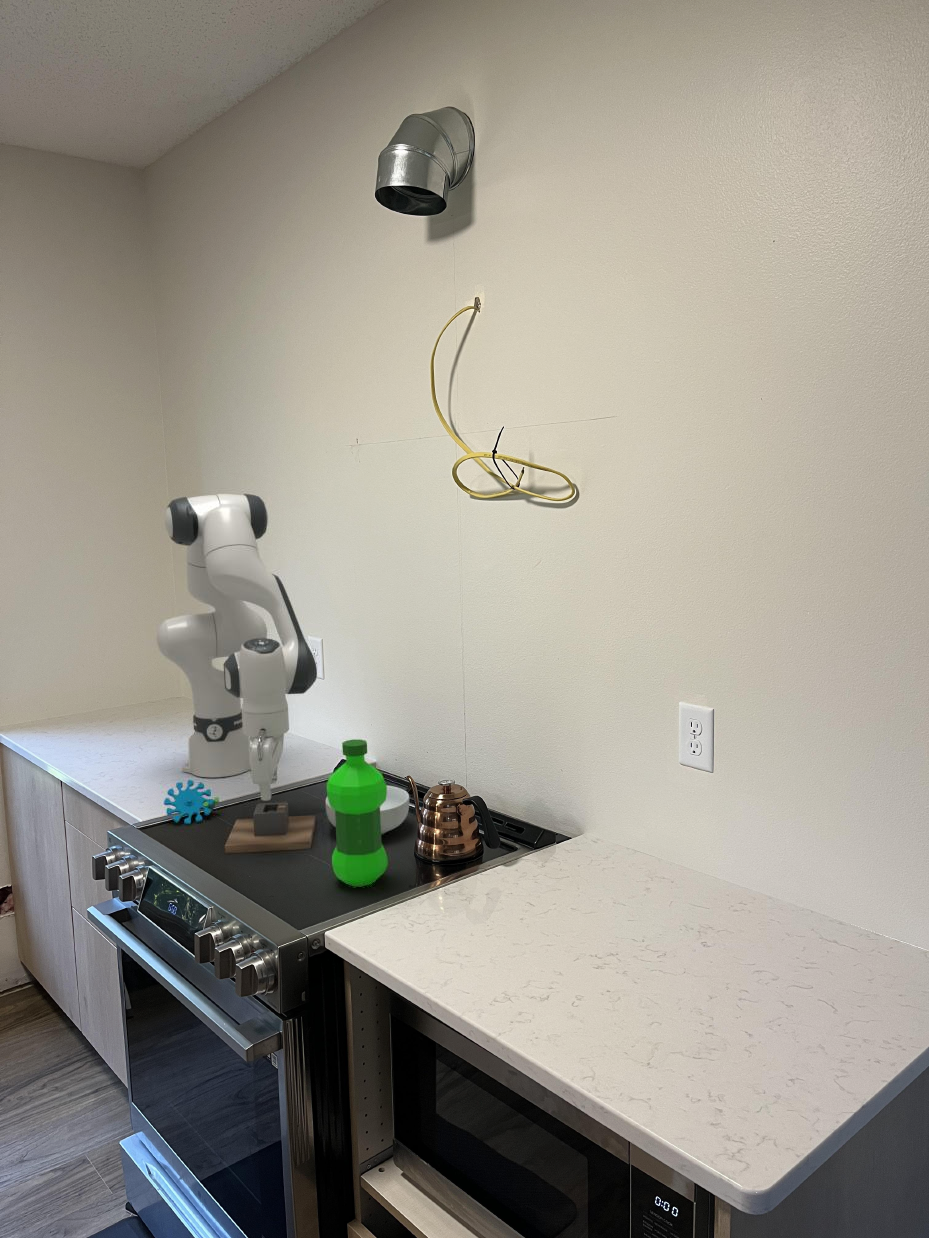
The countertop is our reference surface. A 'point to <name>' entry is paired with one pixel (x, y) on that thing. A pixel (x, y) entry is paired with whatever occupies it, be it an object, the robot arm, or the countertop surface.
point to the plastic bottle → (357, 817)
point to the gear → (190, 802)
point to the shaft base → (294, 839)
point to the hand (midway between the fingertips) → (269, 790)
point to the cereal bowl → (385, 809)
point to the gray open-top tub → (271, 819)
